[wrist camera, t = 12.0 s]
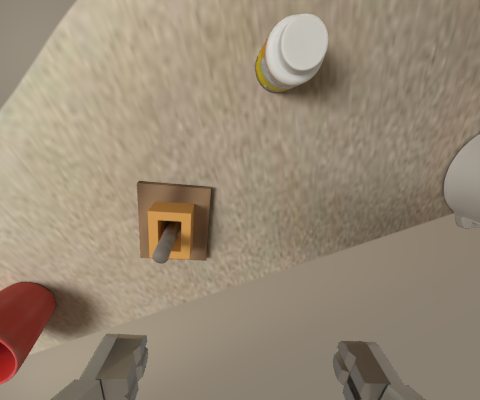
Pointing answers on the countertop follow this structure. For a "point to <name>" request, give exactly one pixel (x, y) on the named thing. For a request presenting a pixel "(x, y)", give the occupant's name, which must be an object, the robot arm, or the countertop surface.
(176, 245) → the orange hollow square block
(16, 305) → the flower pot
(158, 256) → the peg mounting plate
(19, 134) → the countertop surface
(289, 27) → the supplement bottle
